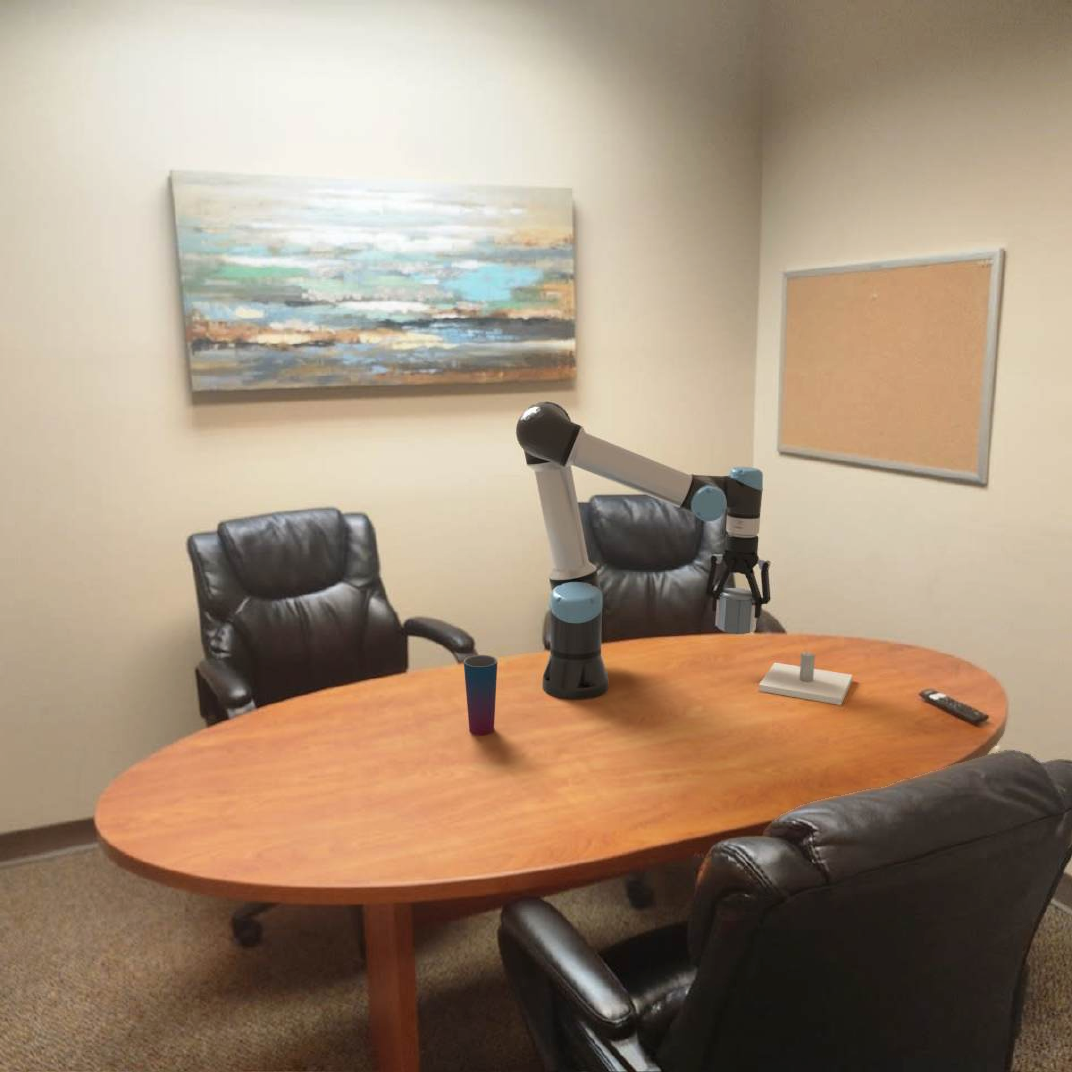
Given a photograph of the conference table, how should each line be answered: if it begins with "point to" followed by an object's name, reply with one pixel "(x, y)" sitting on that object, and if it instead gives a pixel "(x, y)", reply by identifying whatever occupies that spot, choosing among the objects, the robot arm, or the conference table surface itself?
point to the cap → (735, 610)
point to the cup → (481, 692)
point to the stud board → (806, 681)
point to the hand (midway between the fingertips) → (735, 627)
